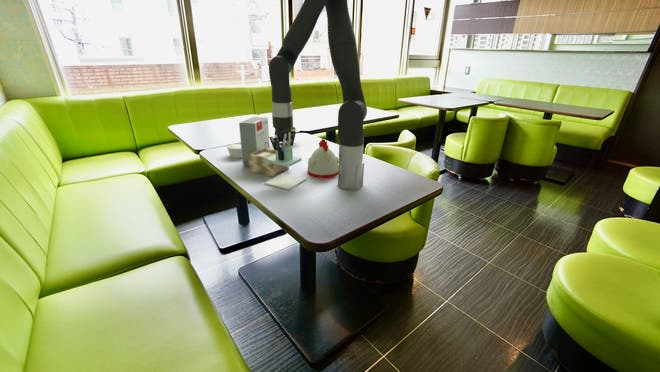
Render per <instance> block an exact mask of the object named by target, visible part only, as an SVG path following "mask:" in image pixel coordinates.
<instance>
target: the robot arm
mask: <svg viewBox="0 0 660 372" xmlns="http://www.w3.org/2000/svg"><path fill="white" fill-rule="evenodd" d="M348 5H349V4H348V0H304V1H303V3H302V4H301V7H300V9H299V10H298V13H297V14H296V16H295V18H294V20H293V22H292V23H291V25H290V27H289V29H288V30H287V32H286V34H285V36H284V38H283V40H282V44H281V47H280V49H279V51H278V52H277V54H276V56H273V57H272V58H271V59H270V61H269V63H268V74H269V79H270V80H269V81H270V86H271V100H272V101H271V115H272V116H271V118H272V127H273V129H274V135H273V136H269V142H270V143H271V145H272V149H273V150H277V151H278V158H279V160H282V161H283V160H284V145H285V146H290V147H293V146H294V142H295V140H296V139H295V138H296V133H297V130H295V131H292V130H291V128H292V127H294V118H293V117H294V115H293V113H294V112H293V109H294V108H293V102H292V101H293V99H292V88H291V86H290V73H291V72H292V70H293V68H294V66H295V64H296V62H297V61H298V57H299V56H300V54H301V53H302V52H303V50H304V48H305V47H306V45H307V43H308V41H309V39H310V38H311V36H312V34H313V32H314V29H315V27H316V25H317V22H318V20H319V18H320V15H321V14H322V13H323V12H322V11H324V8H325V12H326V19H327V20H326V21H327V41H328V48H329V53H330V60H331V63H332V66H333V69H334V71H335V74H336V77H337V80H338V81H339V84H340V86H341V87H340V88H341V93H342V104H341V105H340V107H339V109H338V113H337V136H338V139H339V140H338V161H339V163H338V165H339V167H338V175H337V177H338V178H337V185H338V187H339V188H341V189H344V190H350V191H353V190H355V191H358V190H359V189H360V188H361V187H362V186H364V173H365V162H363V161H364V160H363V159H364V143H365V136H364V121H365V119H366V117H367V114H368V109H367V108H368V107H367V103H366V100H365V97H364V93H363V88H362V83H361V72H360V63H359V53H358V46H357V45H358V44H357V39H356V34H355V30H354V25H353V22H352V19H351V16H350V12H349V6H348ZM290 142H291V143H290ZM286 143H287V144H286ZM280 145H281V148H280Z"/></svg>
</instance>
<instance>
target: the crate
mask: <svg viewBox="0 0 660 372" xmlns="http://www.w3.org/2000/svg"><path fill="white" fill-rule="evenodd" d="M274 156H276V155H275V150H274V148H270V149H268V148H263V149H260V150H258V151H255V152H252V153H250V154H248V159H249V166H248V170H249V172H250V173H254V174H259V175H263V176H268V177H271V178H274V177H276V176H278V175H280V174H282V173H285V172H286V171H288V170H289V168H290V167H287V166H282V165H278V164H274V163H269V162H267V159H269V158H271V157H274Z"/></svg>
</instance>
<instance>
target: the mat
mask: <svg viewBox="0 0 660 372" xmlns="http://www.w3.org/2000/svg"><path fill="white" fill-rule="evenodd" d="M305 181H307V178H305V177H301V176H296V175H292V174H288V173H285V172H282V173H280V174H278V175H277V176H275V177H271V179H268V180H267V181H265V182H264V183H263V184H264V185H267V186H270V187H275V188H279V189H283V190H286V191H290V190H292V189H294V188H295V187H297V186H299V185H300V184H302V183H303V182H305Z"/></svg>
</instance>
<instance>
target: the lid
mask: <svg viewBox="0 0 660 372" xmlns="http://www.w3.org/2000/svg"><path fill="white" fill-rule="evenodd" d="M280 148H281V145H280ZM275 155H276V156H274V157H271V158H269V159H267V162H269V163H274V164H278V165H282V166H287V167H288V168H290V167H291V166H293V165H296V164H297V163H300V162H301V161H302V157H297V156H294V155H293V146H291V147H290V146H285V145H284V160H283V161H282V160H279V158H278V151H277V150H275Z"/></svg>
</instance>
